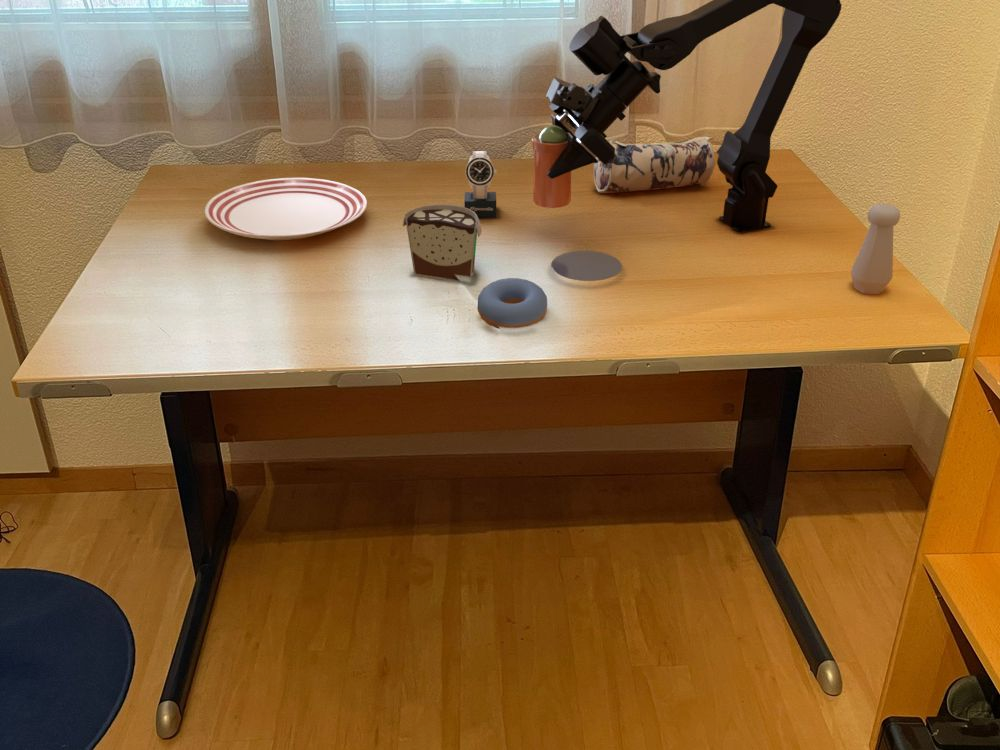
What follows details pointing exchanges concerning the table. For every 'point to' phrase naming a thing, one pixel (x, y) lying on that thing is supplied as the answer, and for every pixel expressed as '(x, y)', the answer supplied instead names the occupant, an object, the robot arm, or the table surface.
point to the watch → (480, 185)
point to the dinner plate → (285, 208)
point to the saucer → (586, 265)
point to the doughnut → (512, 303)
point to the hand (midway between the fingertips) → (544, 169)
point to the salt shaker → (876, 251)
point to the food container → (442, 240)
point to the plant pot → (545, 155)
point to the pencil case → (656, 166)
